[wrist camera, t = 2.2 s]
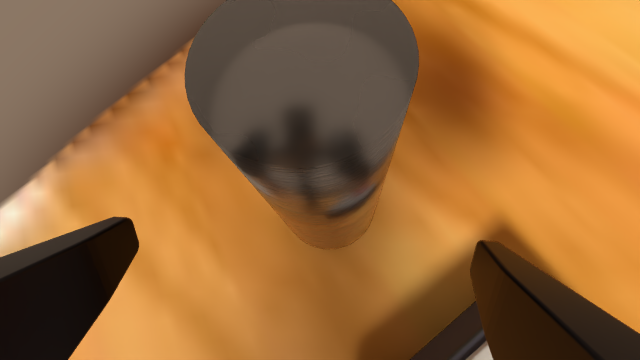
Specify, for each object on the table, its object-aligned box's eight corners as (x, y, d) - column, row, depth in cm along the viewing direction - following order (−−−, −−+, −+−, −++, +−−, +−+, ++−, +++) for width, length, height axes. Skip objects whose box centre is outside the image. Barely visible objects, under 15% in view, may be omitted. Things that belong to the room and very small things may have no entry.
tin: (392, 219, 19) (470, 87, 7) (311, 266, 19) (241, 214, 6) (344, 147, 21) (340, -58, 9) (269, 188, 20) (154, 31, 8)
